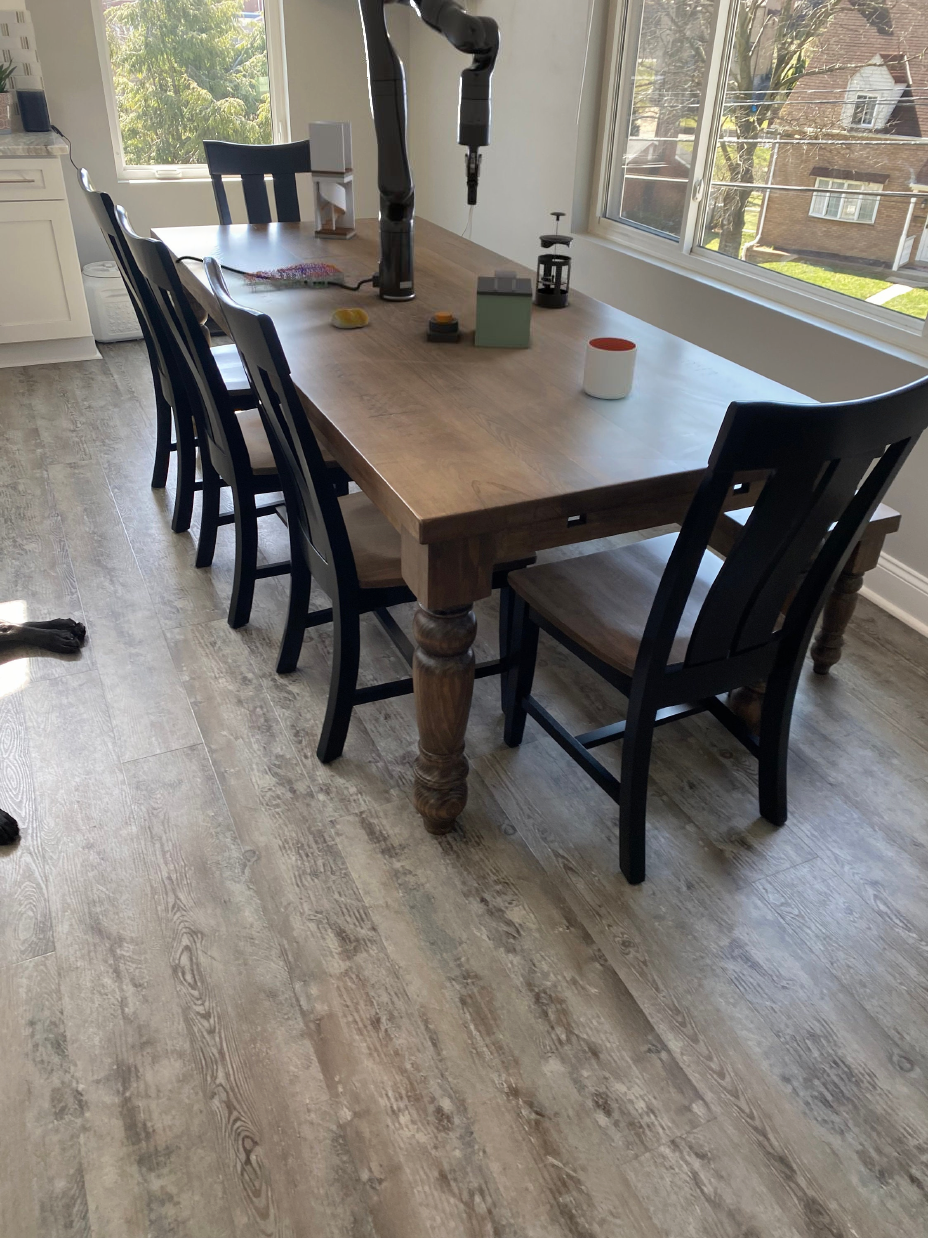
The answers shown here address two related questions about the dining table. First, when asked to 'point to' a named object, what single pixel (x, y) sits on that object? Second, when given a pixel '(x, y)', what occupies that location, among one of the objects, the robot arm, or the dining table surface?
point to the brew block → (443, 331)
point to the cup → (609, 367)
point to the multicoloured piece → (288, 278)
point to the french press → (555, 295)
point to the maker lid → (504, 285)
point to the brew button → (443, 317)
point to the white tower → (332, 178)
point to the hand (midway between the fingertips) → (471, 204)
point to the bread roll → (349, 318)
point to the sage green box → (503, 321)
